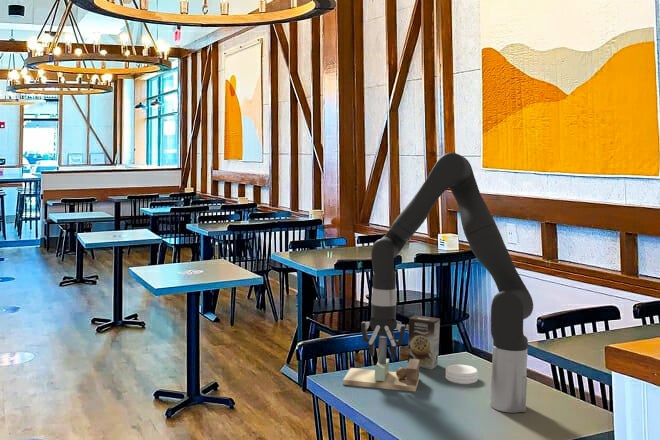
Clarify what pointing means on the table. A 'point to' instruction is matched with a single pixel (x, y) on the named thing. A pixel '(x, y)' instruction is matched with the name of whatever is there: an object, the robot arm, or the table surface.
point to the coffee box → (424, 340)
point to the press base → (394, 380)
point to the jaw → (382, 361)
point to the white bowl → (461, 374)
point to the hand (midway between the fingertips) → (382, 356)
